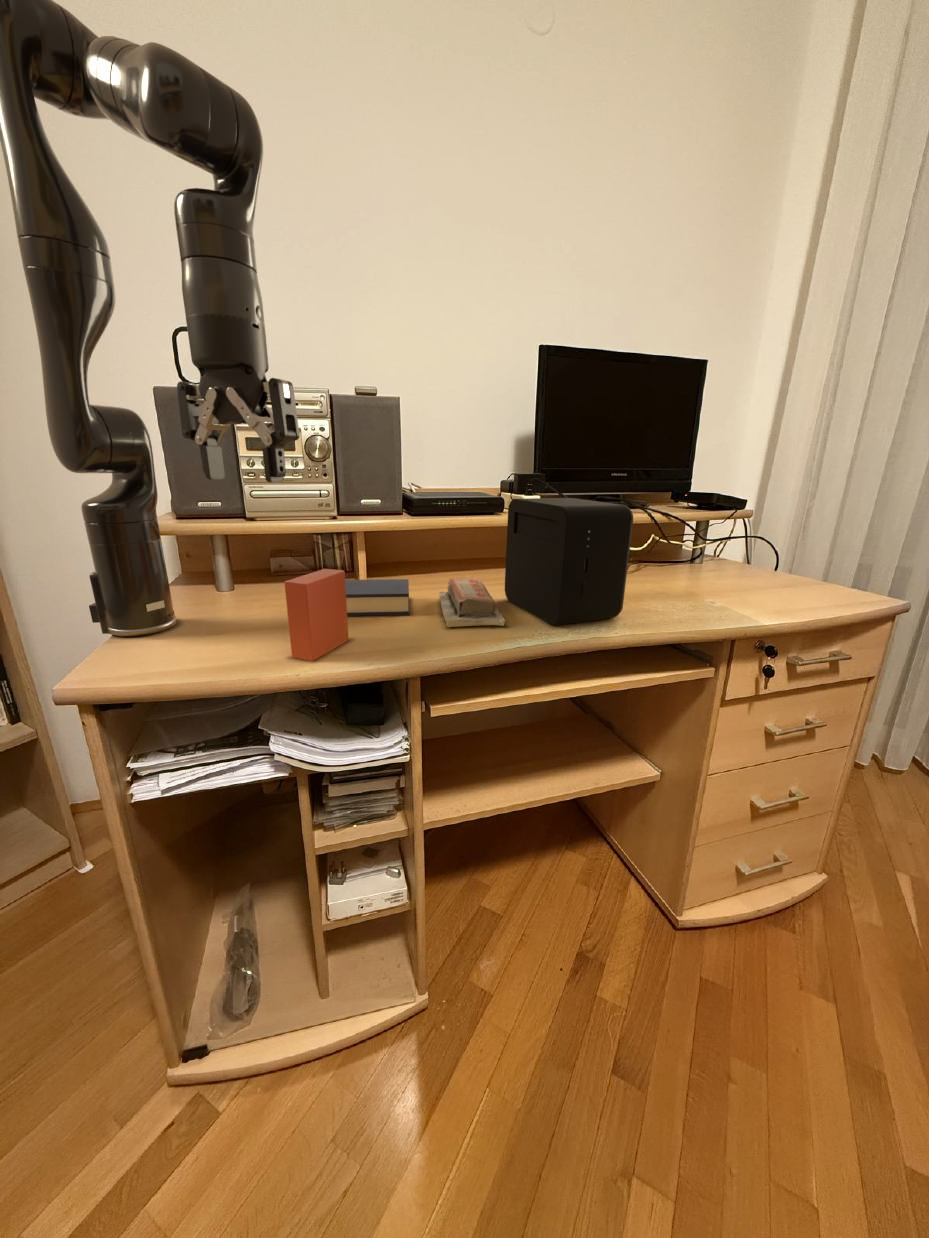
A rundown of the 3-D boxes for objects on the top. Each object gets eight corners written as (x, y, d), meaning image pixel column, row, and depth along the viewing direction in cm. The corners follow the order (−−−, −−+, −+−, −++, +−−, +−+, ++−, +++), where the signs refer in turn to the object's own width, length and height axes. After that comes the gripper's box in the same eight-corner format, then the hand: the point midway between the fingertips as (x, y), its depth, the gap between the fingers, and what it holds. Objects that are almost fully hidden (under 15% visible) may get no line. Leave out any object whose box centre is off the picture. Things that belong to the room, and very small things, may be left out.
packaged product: (438, 575, 97) (487, 575, 98) (438, 599, 98) (487, 598, 100) (446, 600, 80) (506, 599, 81) (446, 628, 81) (505, 627, 83)
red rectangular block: (312, 661, 67) (305, 584, 64) (291, 657, 69) (284, 581, 65) (349, 640, 76) (345, 570, 72) (330, 637, 77) (325, 568, 73)
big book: (329, 616, 87) (328, 594, 85) (337, 599, 97) (336, 580, 96) (409, 615, 88) (408, 593, 87) (408, 598, 99) (408, 579, 97)
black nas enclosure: (628, 620, 87) (642, 506, 81) (558, 629, 82) (568, 507, 76) (564, 592, 105) (572, 496, 99) (503, 598, 100) (508, 497, 93)
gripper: (143, 315, 50) (169, 480, 55) (255, 304, 46) (273, 484, 51) (202, 333, 57) (221, 478, 62) (305, 324, 52) (317, 481, 57)
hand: (244, 480), depth 56 cm, fingers open, 8 cm apart
